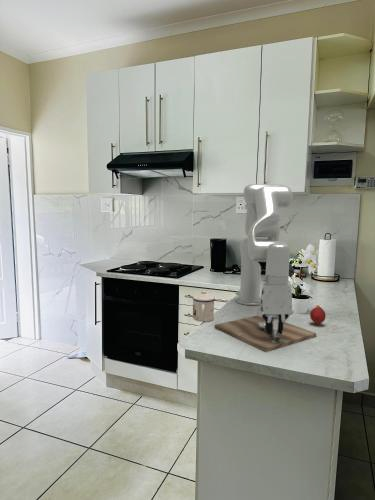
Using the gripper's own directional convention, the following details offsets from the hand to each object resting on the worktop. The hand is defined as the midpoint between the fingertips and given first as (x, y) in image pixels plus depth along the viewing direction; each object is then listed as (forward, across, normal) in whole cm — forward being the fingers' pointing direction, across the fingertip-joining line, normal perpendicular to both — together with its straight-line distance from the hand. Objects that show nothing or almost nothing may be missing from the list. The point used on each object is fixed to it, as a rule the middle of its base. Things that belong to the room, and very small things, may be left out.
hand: (273, 332), depth 116 cm
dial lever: (+2, 0, +3) cm, 4 cm away
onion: (+3, +25, +15) cm, 29 cm away
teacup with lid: (+3, -19, +25) cm, 32 cm away
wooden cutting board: (+3, 0, +9) cm, 10 cm away
